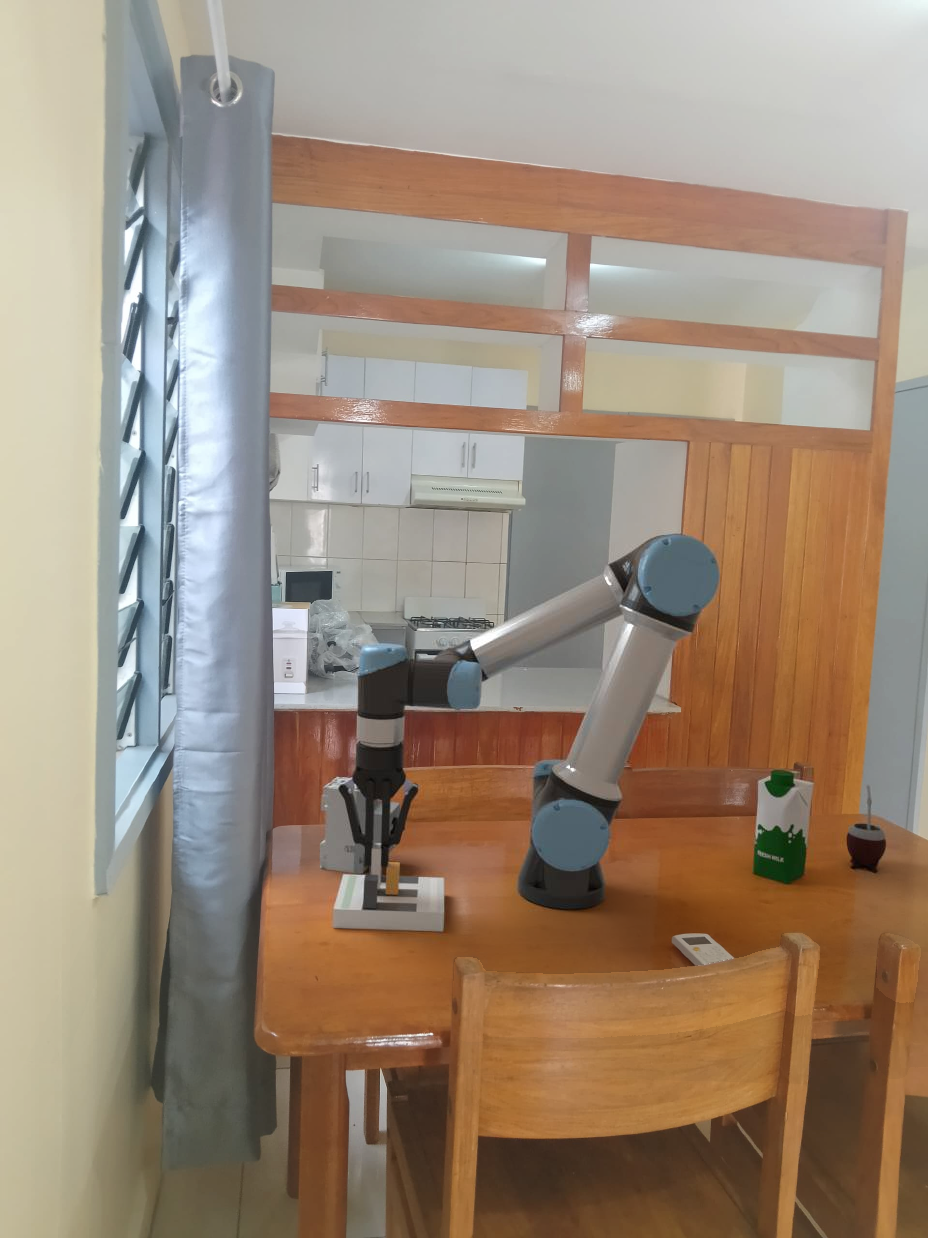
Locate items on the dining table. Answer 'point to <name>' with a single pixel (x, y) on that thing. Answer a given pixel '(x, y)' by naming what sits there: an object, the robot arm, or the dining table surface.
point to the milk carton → (782, 826)
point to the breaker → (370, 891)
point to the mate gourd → (866, 843)
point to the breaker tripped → (392, 878)
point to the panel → (391, 905)
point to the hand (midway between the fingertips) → (375, 885)
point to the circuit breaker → (348, 829)
